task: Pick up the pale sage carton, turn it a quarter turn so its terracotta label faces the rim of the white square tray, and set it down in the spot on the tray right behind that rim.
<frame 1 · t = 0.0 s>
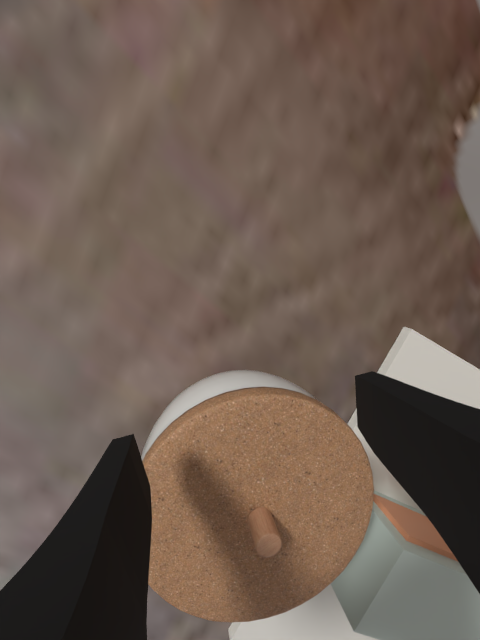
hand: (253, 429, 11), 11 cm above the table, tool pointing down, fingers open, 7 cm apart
lidded jar: (229, 428, 23), on the table
white square tray: (422, 529, 27), on the table
carton: (375, 529, 25), point 1 cm above the table, touching white square tray
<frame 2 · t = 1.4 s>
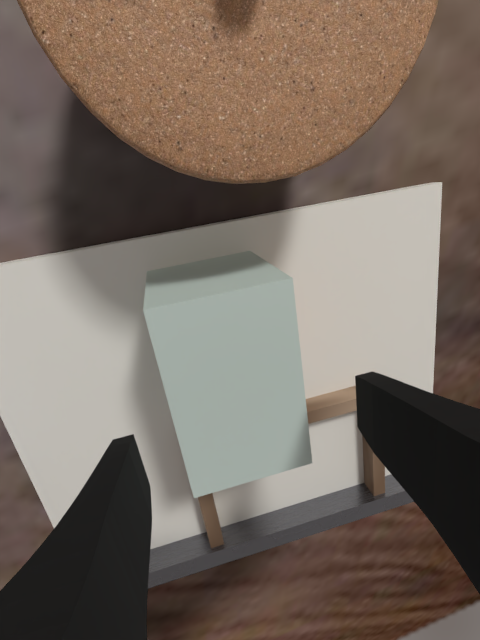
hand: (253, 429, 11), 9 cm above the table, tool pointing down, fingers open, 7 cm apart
lidded jar: (203, 51, 16), on the table
white square tray: (243, 396, 21), on the table
carton: (214, 336, 19), point 1 cm above the table, touching white square tray
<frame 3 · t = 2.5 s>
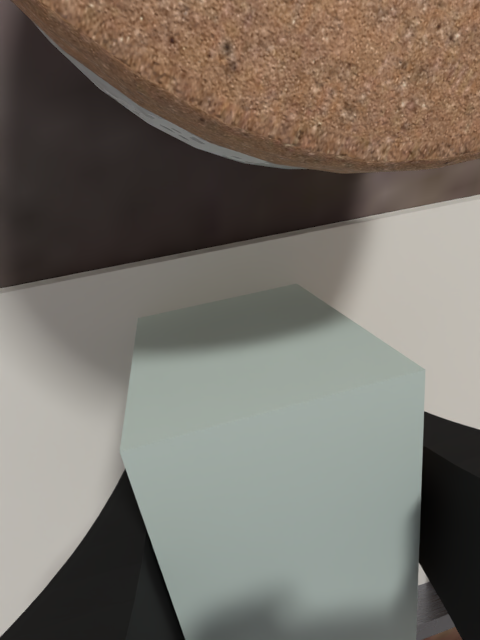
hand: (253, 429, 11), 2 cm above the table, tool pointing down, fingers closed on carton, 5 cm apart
white square tray: (279, 480, 15), on the table
carton: (240, 408, 13), point 1 cm above the table, touching gripper, white square tray
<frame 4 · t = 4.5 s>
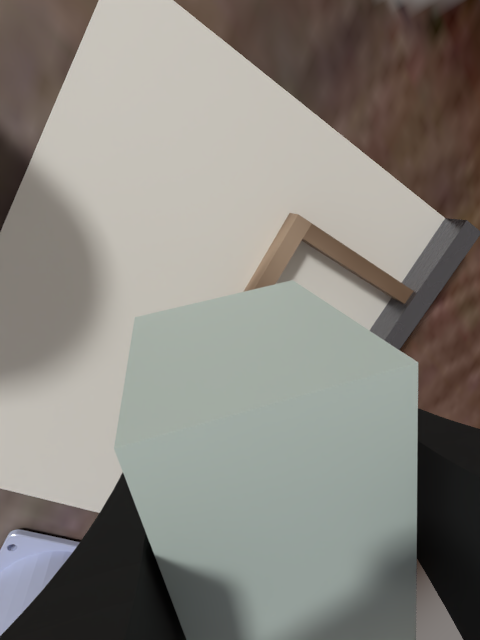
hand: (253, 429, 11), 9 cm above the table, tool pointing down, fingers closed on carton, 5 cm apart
white square tray: (198, 335, 20), on the table
carton: (238, 405, 13), point 8 cm above the table, touching gripper
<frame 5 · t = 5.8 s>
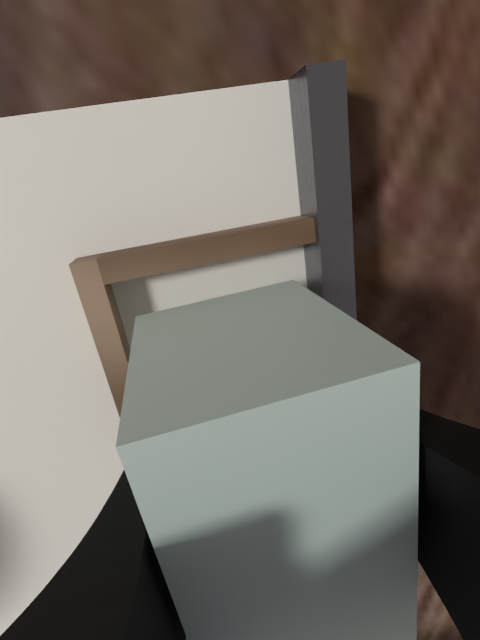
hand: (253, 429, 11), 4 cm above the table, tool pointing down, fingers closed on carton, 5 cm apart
white square tray: (122, 438, 15), on the table
carton: (239, 405, 13), point 3 cm above the table, touching gripper
when the fingers open (3 cm above the table, at t = 6.6 s): carton drops 1 cm, resting on white square tray.
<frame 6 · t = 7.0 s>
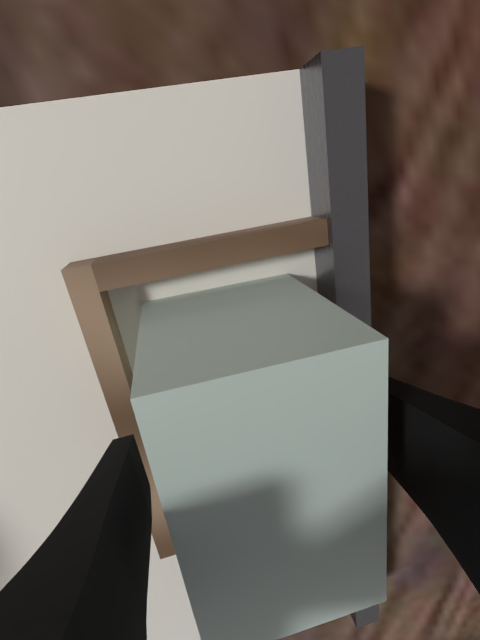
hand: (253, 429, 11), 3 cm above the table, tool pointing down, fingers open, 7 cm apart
white square tray: (119, 453, 15), on the table
carton: (234, 388, 14), point 1 cm above the table, touching white square tray
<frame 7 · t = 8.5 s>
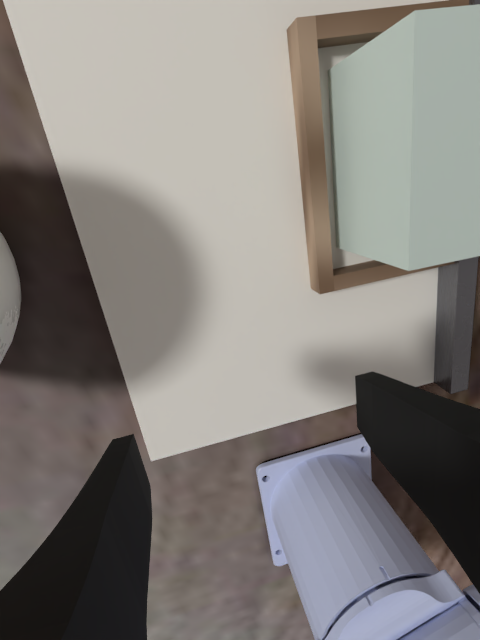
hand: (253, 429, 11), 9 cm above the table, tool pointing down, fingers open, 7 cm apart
white square tray: (285, 218, 19), on the table
carton: (378, 158, 18), point 1 cm above the table, touching white square tray
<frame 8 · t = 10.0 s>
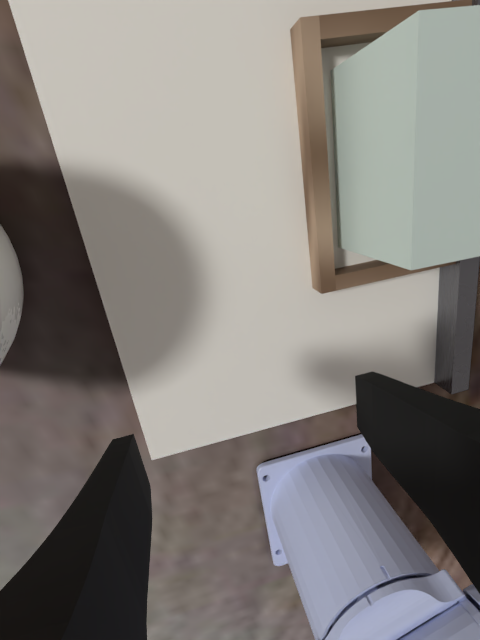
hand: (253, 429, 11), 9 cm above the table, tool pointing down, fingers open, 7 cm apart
white square tray: (287, 217, 19), on the table
carton: (381, 158, 18), point 1 cm above the table, touching white square tray
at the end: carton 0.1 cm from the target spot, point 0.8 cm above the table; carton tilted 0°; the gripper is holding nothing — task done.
